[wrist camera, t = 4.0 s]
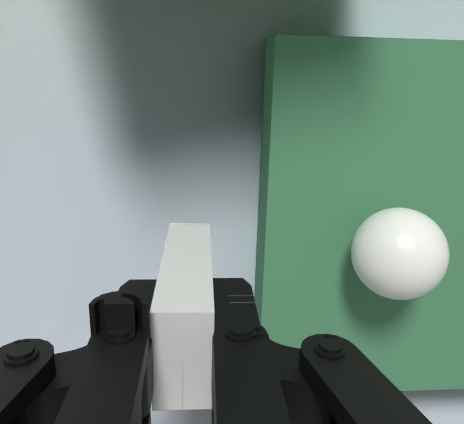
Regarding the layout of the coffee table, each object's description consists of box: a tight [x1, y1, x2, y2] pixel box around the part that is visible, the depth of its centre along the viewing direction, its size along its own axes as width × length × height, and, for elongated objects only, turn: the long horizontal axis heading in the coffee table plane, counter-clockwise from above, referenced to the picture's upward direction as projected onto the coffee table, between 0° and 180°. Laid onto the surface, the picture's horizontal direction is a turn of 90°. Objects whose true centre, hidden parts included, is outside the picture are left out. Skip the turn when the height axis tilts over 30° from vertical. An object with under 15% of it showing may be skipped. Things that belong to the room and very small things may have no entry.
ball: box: [351, 207, 449, 300], centre depth 17 cm, size 4×4×4 cm
